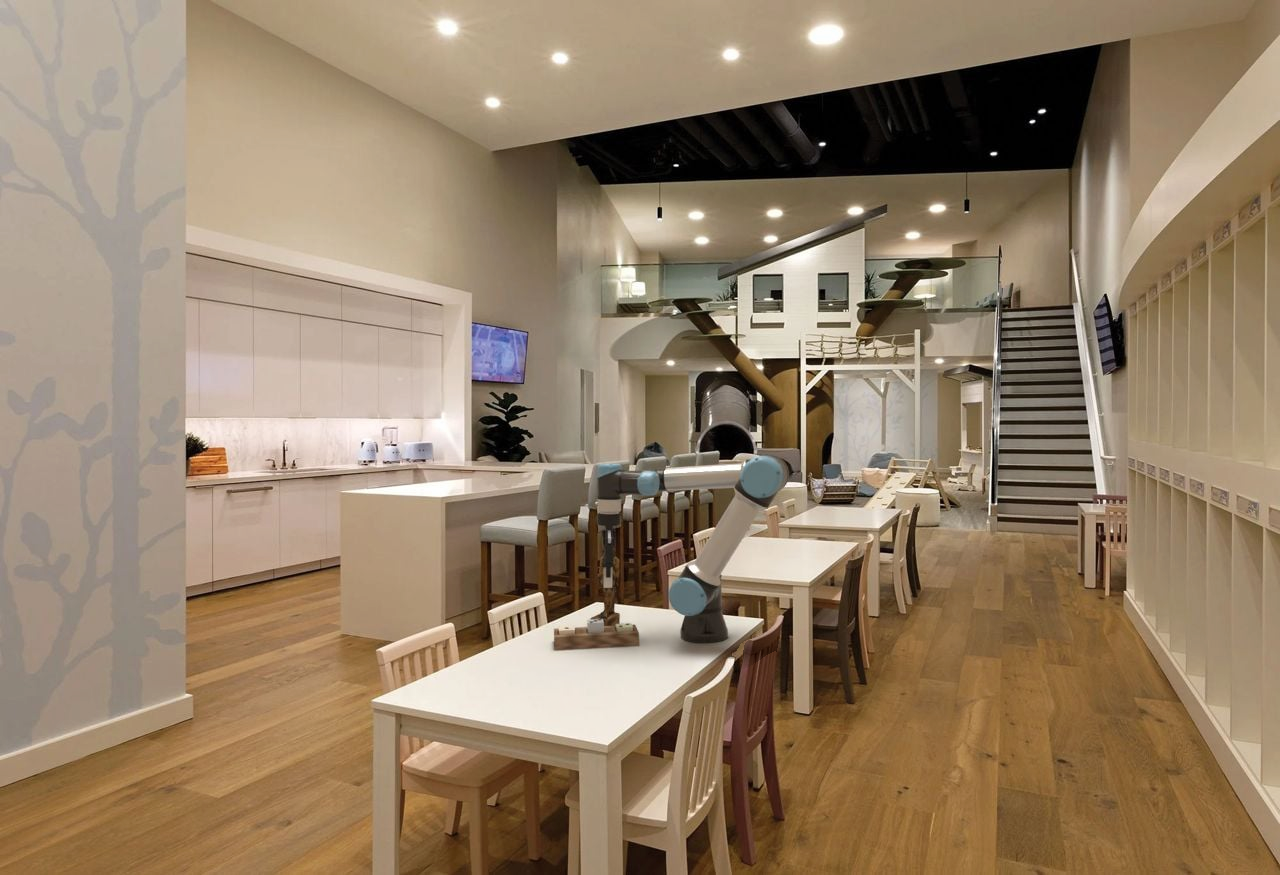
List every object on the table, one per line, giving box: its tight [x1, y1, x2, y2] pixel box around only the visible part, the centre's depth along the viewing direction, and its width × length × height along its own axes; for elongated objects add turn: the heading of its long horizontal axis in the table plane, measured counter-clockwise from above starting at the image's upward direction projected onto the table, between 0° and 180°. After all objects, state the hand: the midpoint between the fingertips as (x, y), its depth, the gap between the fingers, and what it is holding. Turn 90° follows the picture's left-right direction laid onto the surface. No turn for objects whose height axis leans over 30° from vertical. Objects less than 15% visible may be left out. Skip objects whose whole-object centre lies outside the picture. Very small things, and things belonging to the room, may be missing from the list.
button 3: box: [586, 619, 604, 633], centre depth 252 cm, size 5×5×4 cm
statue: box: [589, 544, 621, 626], centre depth 272 cm, size 8×11×30 cm
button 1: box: [558, 625, 576, 635], centre depth 251 cm, size 5×5×4 cm
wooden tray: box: [553, 624, 640, 651], centre depth 252 cm, size 26×11×4 cm, turn 97°
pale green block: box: [616, 622, 633, 632], centre depth 253 cm, size 5×5×4 cm
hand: (607, 587), depth 253 cm, fingers closed
